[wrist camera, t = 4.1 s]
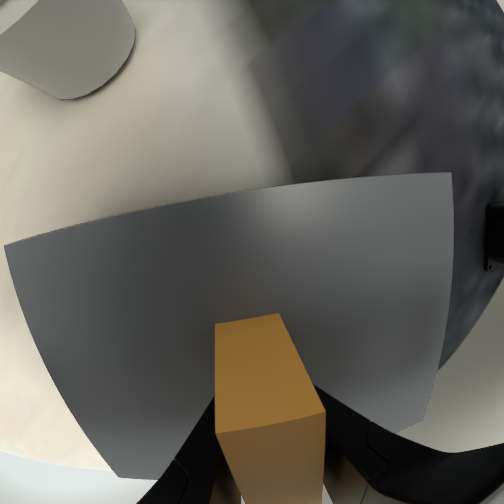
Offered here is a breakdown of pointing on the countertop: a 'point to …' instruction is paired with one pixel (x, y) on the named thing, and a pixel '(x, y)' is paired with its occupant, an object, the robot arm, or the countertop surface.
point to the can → (64, 43)
